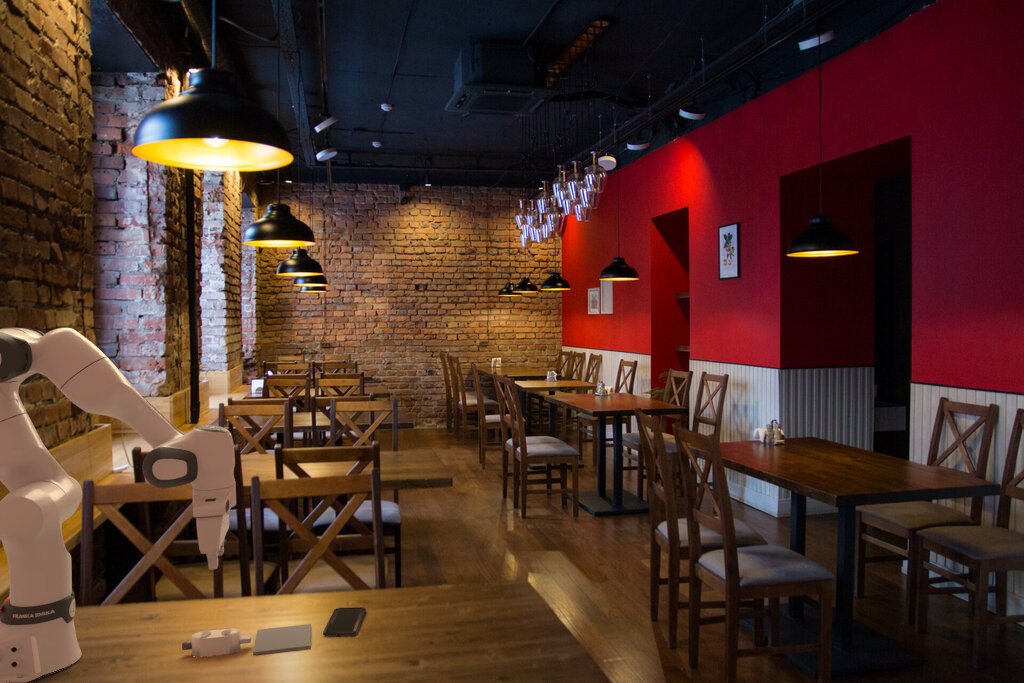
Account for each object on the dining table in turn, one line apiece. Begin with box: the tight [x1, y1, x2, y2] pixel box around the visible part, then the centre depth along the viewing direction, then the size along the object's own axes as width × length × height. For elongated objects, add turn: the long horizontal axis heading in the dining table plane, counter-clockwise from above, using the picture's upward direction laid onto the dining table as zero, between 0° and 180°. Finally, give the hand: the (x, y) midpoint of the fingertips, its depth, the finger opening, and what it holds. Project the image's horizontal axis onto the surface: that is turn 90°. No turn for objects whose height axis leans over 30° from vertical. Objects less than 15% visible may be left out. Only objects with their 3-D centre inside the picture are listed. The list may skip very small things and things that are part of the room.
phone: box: [322, 606, 367, 637], centre depth 173 cm, size 8×1×15 cm
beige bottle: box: [181, 627, 252, 658], centre depth 158 cm, size 14×4×4 cm, turn 105°
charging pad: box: [252, 623, 312, 656], centre depth 163 cm, size 12×12×1 cm
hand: (216, 561), depth 157 cm, fingers open, 8 cm apart
